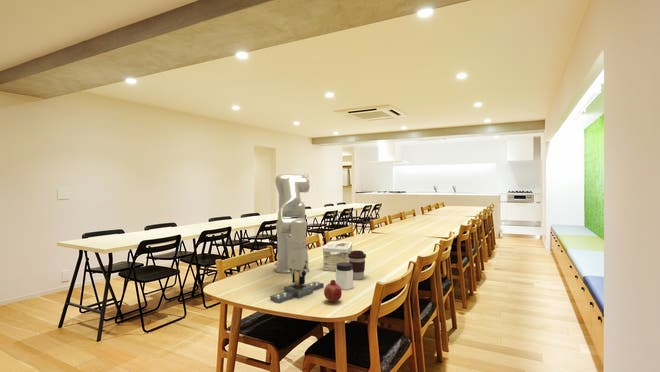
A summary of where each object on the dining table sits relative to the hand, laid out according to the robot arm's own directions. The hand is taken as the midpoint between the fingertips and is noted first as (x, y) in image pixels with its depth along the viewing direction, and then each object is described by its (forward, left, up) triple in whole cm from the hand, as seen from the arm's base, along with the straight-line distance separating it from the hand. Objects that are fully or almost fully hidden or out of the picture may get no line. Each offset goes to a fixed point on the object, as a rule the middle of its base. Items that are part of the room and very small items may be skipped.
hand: (298, 282), depth 165 cm
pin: (0, 0, -4) cm, 4 cm away
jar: (+11, +22, -5) cm, 25 cm away
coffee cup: (+6, +40, -5) cm, 41 cm away
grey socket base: (0, 0, -5) cm, 5 cm away
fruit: (+20, +2, -5) cm, 21 cm away
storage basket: (-18, +53, -6) cm, 56 cm away
